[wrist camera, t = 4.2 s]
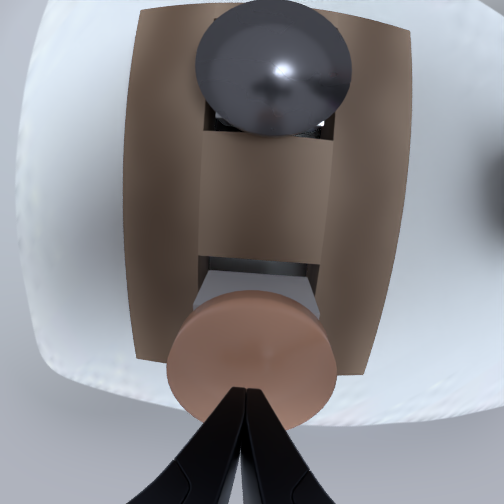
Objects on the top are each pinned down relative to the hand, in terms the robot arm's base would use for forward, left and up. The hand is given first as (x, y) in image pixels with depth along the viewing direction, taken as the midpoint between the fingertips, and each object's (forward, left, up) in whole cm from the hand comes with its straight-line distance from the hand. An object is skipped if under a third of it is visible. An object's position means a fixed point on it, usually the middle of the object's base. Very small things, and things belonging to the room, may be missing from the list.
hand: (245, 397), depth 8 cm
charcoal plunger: (0, -11, -11) cm, 15 cm away
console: (0, -5, -11) cm, 12 cm away
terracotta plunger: (0, +1, -7) cm, 7 cm away
